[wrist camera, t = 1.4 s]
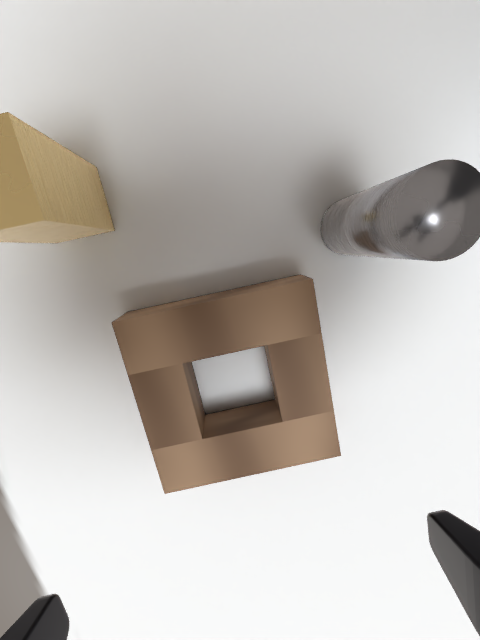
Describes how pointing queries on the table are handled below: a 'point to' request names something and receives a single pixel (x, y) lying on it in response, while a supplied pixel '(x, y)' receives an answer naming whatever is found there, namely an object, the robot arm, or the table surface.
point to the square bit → (46, 189)
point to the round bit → (409, 215)
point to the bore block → (239, 423)
